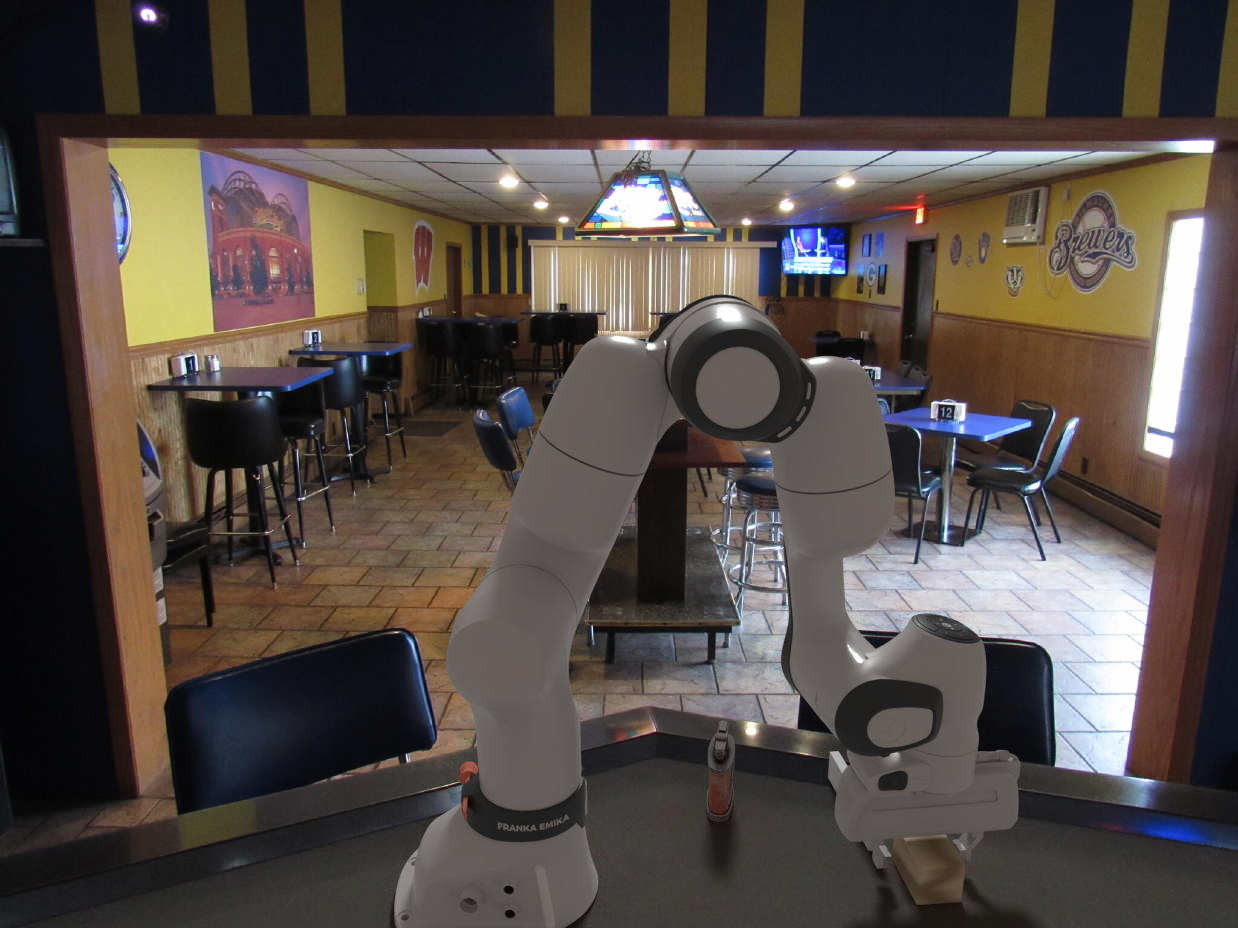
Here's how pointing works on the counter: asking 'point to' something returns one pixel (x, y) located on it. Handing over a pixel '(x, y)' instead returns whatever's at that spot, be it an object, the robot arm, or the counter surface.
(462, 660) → the robot arm
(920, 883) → the maple block
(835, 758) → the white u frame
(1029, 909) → the counter surface
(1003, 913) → the counter surface
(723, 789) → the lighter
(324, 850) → the counter surface
